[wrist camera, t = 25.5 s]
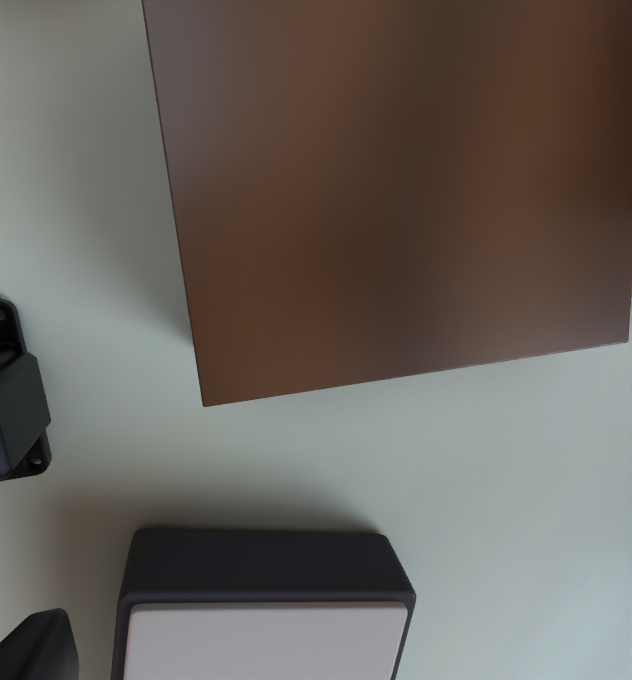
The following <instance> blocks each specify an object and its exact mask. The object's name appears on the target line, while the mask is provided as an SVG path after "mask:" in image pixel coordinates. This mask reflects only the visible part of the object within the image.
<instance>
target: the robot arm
mask: <svg viewBox="0 0 632 680" xmlns="http://www.w3.org/2000/svg"><path fill="white" fill-rule="evenodd" d="M0 309H2V310H3V311H4V312H5V319H4V320H0V481H4V480H10V479H16V478H22V477H28V476H34V475H38V474H41V473H43V472H44V471H45V470H46V469H47V468H48V466H49V464H50V462H51V451H50V447H49V443H48V439H47V434H46V430H45V429H46V427H47V426H48V425H49V423H50V422H51V418H50V413H49V409H48V405H47V400H46V396H45V392H44V387H43V383H42V379H41V374H40V370H39V366H38V362H37V358H36V357H35V356H33V355H32V354H31V353H27V350H26V346H25V341H24V337H23V333H22V329H21V324H20V320H19V316H18V312H17V309H16V307H15V306H14V305H13V304H12V303H11V302H10V301H8V300H5V299H0ZM31 456H36V457H38V458H39V459H40V460H41V463H40V464H34V463H32V462H31V461H30V457H31ZM78 677H79V659H78V653H77V649H76V645H75V641H74V637H73V633H72V629H71V625H70V621H69V617H68V615H67V613H66V611H65V610H64V609H62V608H57V609H52V610H47V611H42V612H37V613H34V614H31V615H29V616H28V617H27V618H26V619H25V620H24V621H23V622H21V623H20V624H19V625H18V626H17V627H16V628H15V629H14V630H13V631H12V632H11V633H10V634H9V635H8V636H7V637H6V638H4V639H3V640H2V641H1V642H0V680H78Z"/></svg>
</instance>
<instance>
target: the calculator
mask: <svg viewBox="0 0 632 680" xmlns="http://www.w3.org/2000/svg"><path fill="white" fill-rule="evenodd" d="M415 602H416V593H415V591H414V589H413V587H412V585H411V583H410V581H409V579H408V577H407V575H406V573H405V571H404V569H403V567H402V565H401V563H400V561H399V559H398V557H397V555H396V553H395V551H394V550H393V548H392V546H391V544H390V542H389V540H388V538H387V537H386V536H384V535H381V534H352V533H313V532H274V531H235V530H195V529H156V528H144V529H140V530H138V531H136V532H135V533H134V535H133V537H132V541H131V545H130V549H129V554H128V558H127V563H126V567H125V571H124V576H123V580H122V585H121V589H120V594H119V598H118V605H117V616H116V627H115V638H114V649H113V659H112V670H111V680H395V678H396V674H397V671H398V667H399V663H400V659H401V656H402V652H403V648H404V644H405V640H406V637H407V633H408V629H409V625H410V622H411V618H412V614H413V610H414V607H415Z"/></svg>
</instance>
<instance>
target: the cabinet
mask: <svg viewBox="0 0 632 680" xmlns="http://www.w3.org/2000/svg"><path fill="white" fill-rule="evenodd" d="M141 1H142V7H143V14H144V21H145V27H146V34H147V40H148V47H149V54H150V60H151V67H152V73H153V80H154V87H155V93H156V100H157V106H158V113H159V120H160V126H161V133H162V139H163V146H164V153H165V159H166V166H167V173H168V179H169V186H170V192H171V199H172V206H173V212H174V219H175V225H176V232H177V239H178V245H179V252H180V258H181V265H182V272H183V278H184V285H185V292H186V298H187V305H188V311H189V318H190V325H191V331H192V338H193V344H194V351H195V358H196V364H197V371H198V377H199V384H200V391H201V397H202V404H203V407H209V406H215V405H222V404H228V403H235V402H241V401H248V400H254V399H261V398H267V397H274V396H280V395H287V394H293V393H300V392H306V391H313V390H319V389H326V388H332V387H339V386H345V385H352V384H358V383H365V382H372V381H378V380H385V379H391V378H398V377H404V376H411V375H417V374H424V373H430V372H437V371H443V370H450V369H456V368H463V367H469V366H476V365H482V364H489V363H495V362H502V361H508V360H515V359H522V358H528V357H535V356H541V355H548V354H554V353H561V352H567V351H574V350H580V349H587V348H593V347H600V346H606V345H613V344H619V343H626V342H628V337H629V323H630V308H631V293H632V0H141Z"/></svg>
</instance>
